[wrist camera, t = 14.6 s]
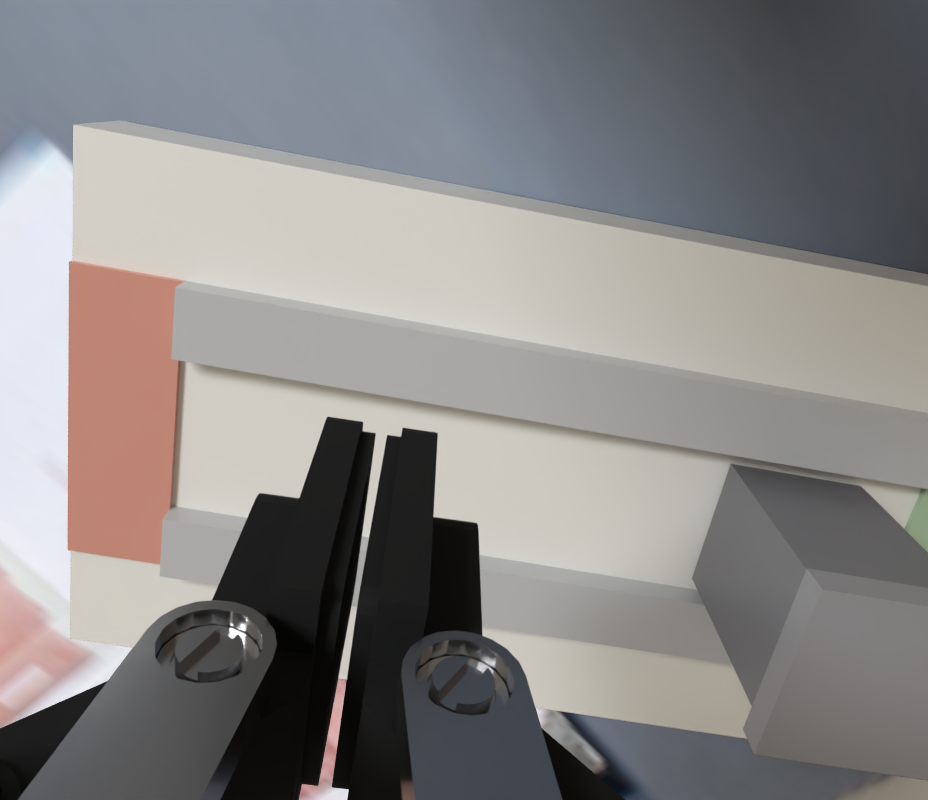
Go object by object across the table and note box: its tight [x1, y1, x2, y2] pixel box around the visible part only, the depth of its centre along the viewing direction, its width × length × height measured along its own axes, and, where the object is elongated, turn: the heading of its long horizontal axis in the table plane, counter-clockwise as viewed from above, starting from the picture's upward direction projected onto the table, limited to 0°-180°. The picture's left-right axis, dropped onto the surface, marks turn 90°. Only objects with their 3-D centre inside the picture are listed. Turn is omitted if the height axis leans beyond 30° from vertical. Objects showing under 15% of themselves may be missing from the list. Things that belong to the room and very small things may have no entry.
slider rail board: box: [68, 121, 928, 739], centre depth 25 cm, size 16×28×4 cm, turn 79°
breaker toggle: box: [692, 464, 928, 780], centre depth 21 cm, size 5×5×7 cm
